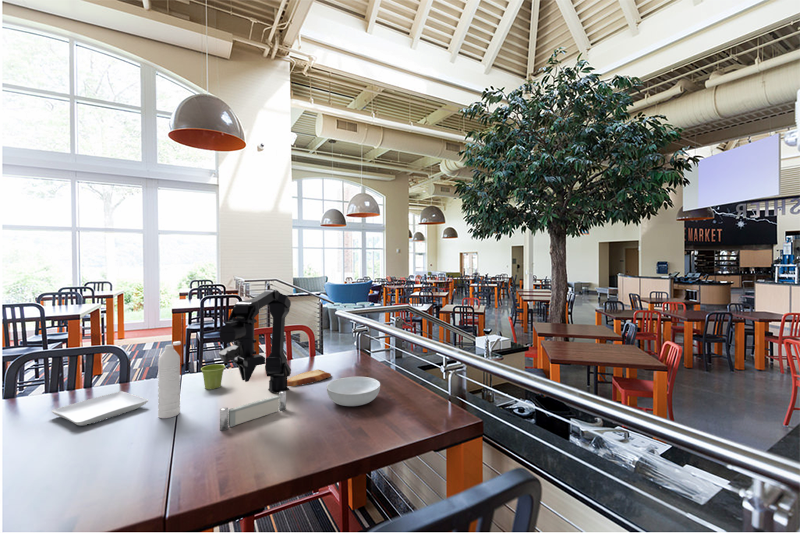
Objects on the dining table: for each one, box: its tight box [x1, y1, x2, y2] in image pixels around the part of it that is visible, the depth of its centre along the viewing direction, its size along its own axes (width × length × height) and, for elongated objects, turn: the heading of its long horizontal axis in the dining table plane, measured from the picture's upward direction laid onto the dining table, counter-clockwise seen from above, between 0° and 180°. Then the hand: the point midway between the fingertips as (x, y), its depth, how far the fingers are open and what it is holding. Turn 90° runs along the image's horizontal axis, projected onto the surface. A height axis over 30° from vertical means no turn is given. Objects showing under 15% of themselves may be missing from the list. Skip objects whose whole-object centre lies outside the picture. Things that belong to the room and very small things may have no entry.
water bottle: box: [157, 340, 182, 419], centre depth 125 cm, size 9×6×25 cm
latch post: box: [219, 406, 229, 431], centre depth 113 cm, size 2×2×6 cm
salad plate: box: [51, 390, 149, 426], centre depth 125 cm, size 21×21×3 cm
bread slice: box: [287, 369, 332, 387], centre depth 161 cm, size 18×18×4 cm
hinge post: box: [278, 390, 287, 412], centre depth 128 cm, size 2×2×6 cm
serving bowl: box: [326, 376, 381, 407], centre depth 136 cm, size 21×21×7 cm
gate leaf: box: [228, 395, 280, 428], centre depth 120 cm, size 17×2×5 cm, turn 137°
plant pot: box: [200, 363, 226, 390], centre depth 151 cm, size 9×9×9 cm
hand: (245, 380), depth 124 cm, fingers open, 2 cm apart
